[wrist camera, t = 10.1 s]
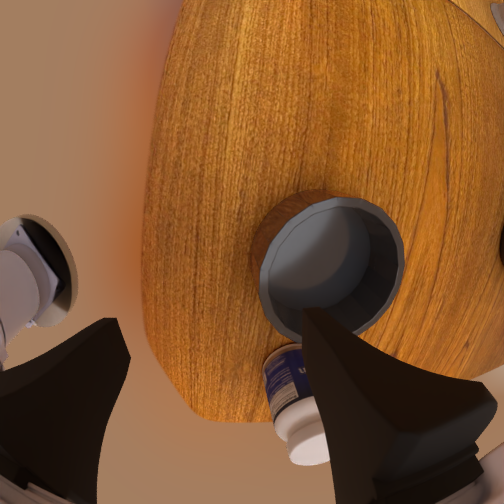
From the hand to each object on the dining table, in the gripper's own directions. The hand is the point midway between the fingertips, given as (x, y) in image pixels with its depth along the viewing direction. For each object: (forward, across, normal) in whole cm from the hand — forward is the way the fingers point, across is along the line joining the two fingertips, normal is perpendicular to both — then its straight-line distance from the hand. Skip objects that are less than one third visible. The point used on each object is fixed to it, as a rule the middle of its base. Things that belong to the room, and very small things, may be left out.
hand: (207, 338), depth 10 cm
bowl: (+11, -7, +1) cm, 13 cm away
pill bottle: (+11, -5, +12) cm, 17 cm away
